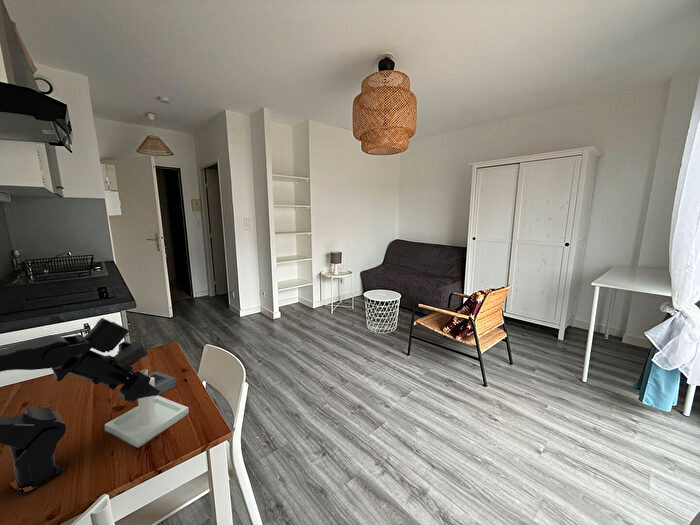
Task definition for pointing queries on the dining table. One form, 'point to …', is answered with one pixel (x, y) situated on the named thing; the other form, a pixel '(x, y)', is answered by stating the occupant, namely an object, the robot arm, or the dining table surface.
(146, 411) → the perfume bottle
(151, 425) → the tray
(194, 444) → the dining table surface
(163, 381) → the bottle collar
